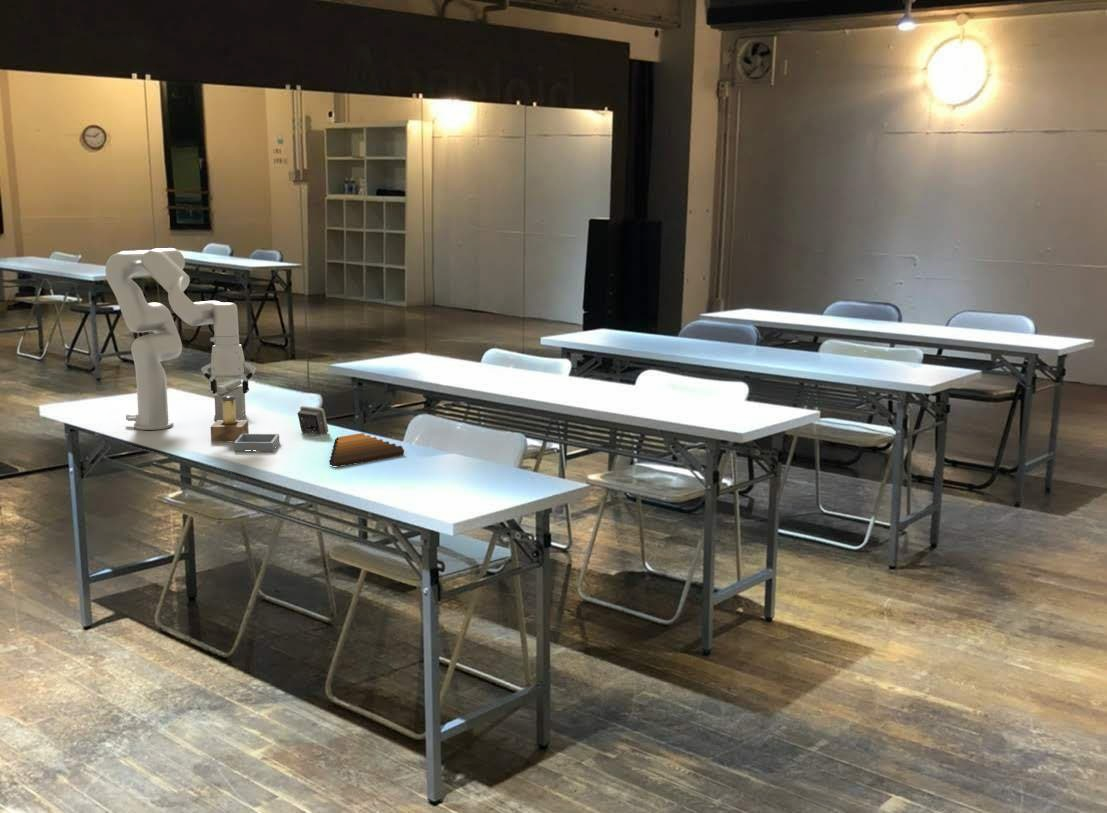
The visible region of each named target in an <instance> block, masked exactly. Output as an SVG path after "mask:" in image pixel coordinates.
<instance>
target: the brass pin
mask: <svg viewBox="0 0 1107 813" xmlns="http://www.w3.org/2000/svg"><path fill="white" fill-rule="evenodd" d="M222 402H223V425H236V409H235V396H223V397H222Z"/></svg>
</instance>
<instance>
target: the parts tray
mask: <svg viewBox="0 0 1107 813" xmlns="http://www.w3.org/2000/svg"><path fill="white" fill-rule="evenodd" d="M278 443H279V444H280V433H249V434H241V435H240V436H239V437H238V438H237V439H236V440H235V442H233V452H234V451H245V450H251V451H253V450H256V451H273V450H274V449H275V450H276V448H277V447H278V446H277V445H279V444H278ZM276 446H277V447H276ZM275 447H276V448H275ZM275 450H274V451H275ZM274 451H273V452H274Z"/></svg>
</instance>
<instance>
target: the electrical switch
mask: <svg viewBox="0 0 1107 813" xmlns="http://www.w3.org/2000/svg"><path fill="white" fill-rule="evenodd" d="M297 417H298V422H299V426H300V431H301V433H302V432H303V434H310V435H318V436H321V435H323V434H328V433H329V427H328V422H327V417H326V413H325V409H324V408H322V407H321V408H320V407H312V406H305V405H304V406H303V405H301V406H300V408H299V411H298V412H297Z"/></svg>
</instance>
